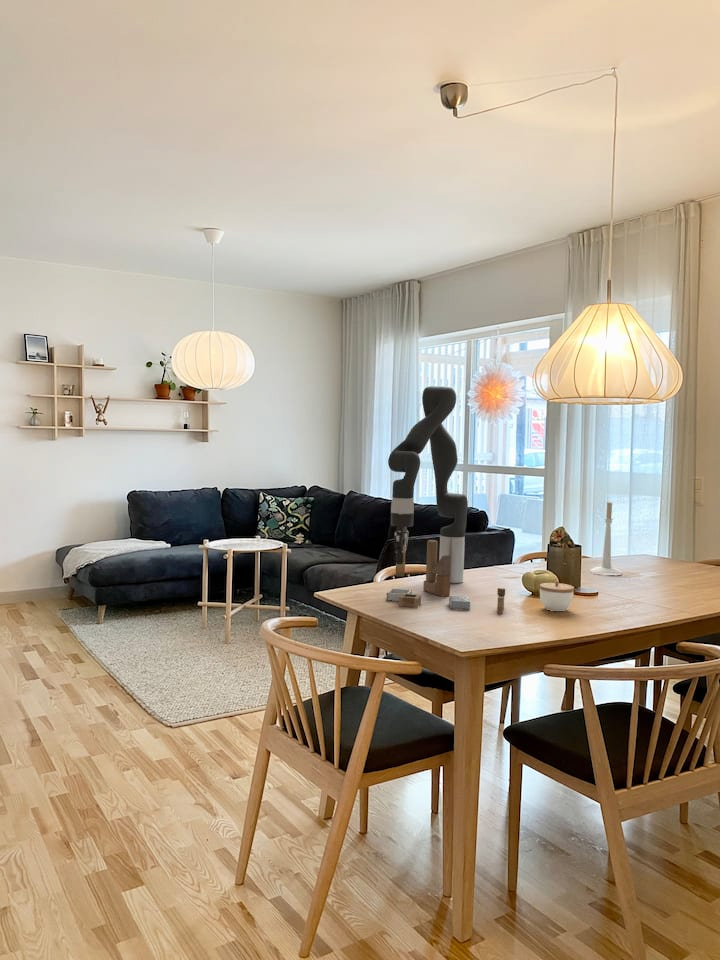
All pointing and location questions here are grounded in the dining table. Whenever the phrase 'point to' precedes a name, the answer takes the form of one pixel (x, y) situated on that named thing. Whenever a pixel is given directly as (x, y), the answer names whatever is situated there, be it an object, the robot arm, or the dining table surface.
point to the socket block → (410, 600)
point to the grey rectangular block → (459, 602)
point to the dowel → (401, 565)
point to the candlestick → (607, 546)
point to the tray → (396, 593)
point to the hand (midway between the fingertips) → (400, 563)
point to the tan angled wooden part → (437, 571)
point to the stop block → (500, 600)
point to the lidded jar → (556, 596)
